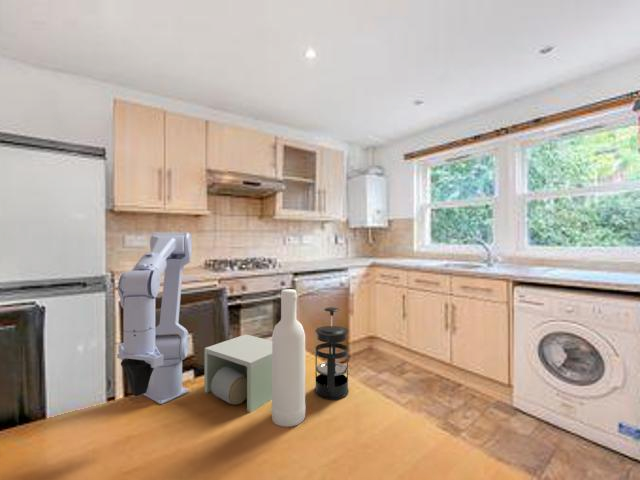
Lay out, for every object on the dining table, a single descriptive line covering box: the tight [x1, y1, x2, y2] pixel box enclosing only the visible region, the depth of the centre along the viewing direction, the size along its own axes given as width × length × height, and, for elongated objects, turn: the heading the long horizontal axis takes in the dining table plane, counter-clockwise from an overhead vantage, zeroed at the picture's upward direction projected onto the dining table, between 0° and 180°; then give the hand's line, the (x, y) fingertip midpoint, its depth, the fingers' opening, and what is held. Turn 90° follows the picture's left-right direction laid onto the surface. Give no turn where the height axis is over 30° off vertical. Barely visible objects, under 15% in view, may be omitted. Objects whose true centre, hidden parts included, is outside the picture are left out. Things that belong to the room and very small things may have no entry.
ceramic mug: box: [211, 367, 247, 406], centre depth 82 cm, size 11×8×8 cm
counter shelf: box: [203, 334, 272, 413], centre depth 86 cm, size 18×15×12 cm
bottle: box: [271, 288, 307, 428], centre depth 73 cm, size 8×8×30 cm
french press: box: [314, 306, 350, 401], centre depth 85 cm, size 12×9×23 cm
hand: (139, 393), depth 64 cm, fingers closed
